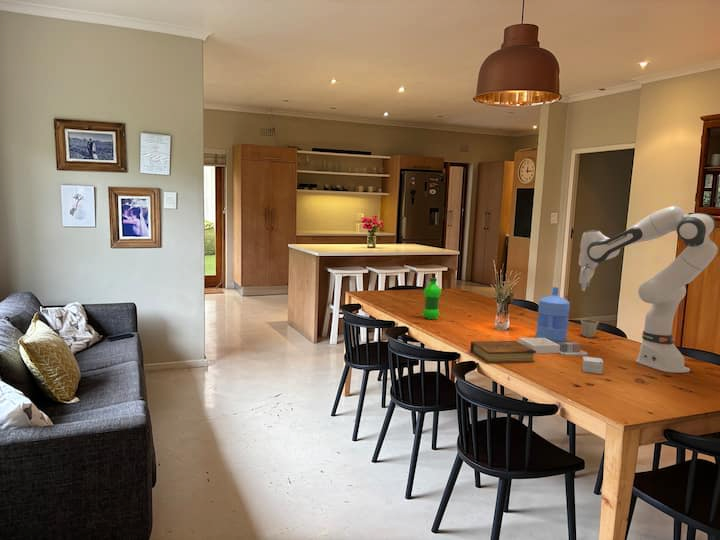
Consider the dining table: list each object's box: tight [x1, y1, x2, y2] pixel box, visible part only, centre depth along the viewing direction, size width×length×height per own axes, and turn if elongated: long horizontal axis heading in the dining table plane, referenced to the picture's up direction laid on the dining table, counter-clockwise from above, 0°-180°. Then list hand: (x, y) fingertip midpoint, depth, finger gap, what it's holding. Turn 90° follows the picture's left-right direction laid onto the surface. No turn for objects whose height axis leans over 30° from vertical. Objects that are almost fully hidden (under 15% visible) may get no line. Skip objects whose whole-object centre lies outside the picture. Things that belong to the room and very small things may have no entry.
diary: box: [469, 340, 536, 364], centre depth 243 cm, size 23×19×6 cm
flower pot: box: [580, 318, 600, 338], centre depth 291 cm, size 9×9×9 cm
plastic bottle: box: [422, 277, 442, 320], centre depth 319 cm, size 10×10×25 cm
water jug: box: [535, 286, 571, 343], centre depth 279 cm, size 16×16×28 cm
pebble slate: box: [563, 341, 574, 352], centre depth 255 cm, size 4×3×4 cm
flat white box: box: [517, 337, 560, 355], centre depth 256 cm, size 14×14×4 cm
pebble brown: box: [569, 341, 581, 352], centre depth 256 cm, size 4×3×4 cm
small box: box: [581, 355, 604, 375], centre depth 227 cm, size 8×8×5 cm
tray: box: [558, 349, 590, 357], centre depth 255 cm, size 14×13×1 cm
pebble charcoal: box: [556, 342, 567, 352], centre depth 254 cm, size 4×3×4 cm
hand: (585, 288), depth 266 cm, fingers open, 8 cm apart
